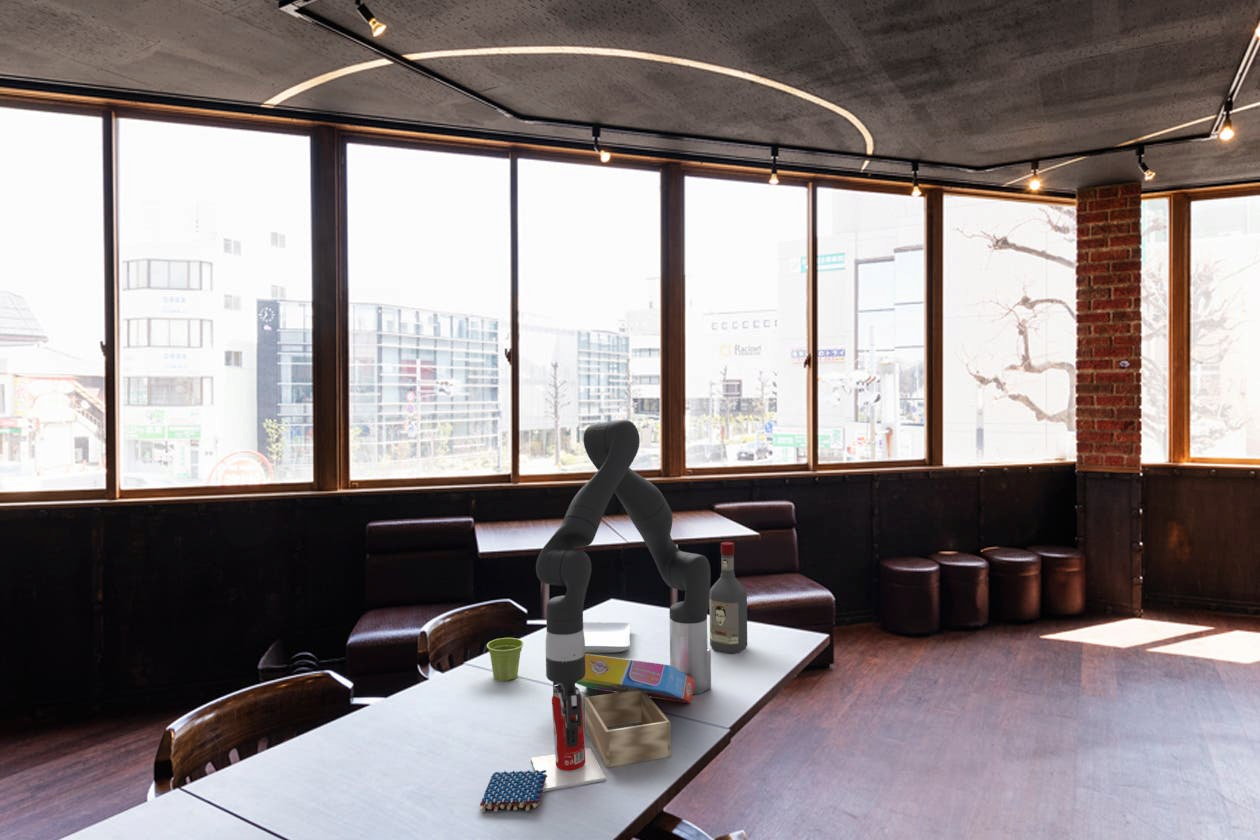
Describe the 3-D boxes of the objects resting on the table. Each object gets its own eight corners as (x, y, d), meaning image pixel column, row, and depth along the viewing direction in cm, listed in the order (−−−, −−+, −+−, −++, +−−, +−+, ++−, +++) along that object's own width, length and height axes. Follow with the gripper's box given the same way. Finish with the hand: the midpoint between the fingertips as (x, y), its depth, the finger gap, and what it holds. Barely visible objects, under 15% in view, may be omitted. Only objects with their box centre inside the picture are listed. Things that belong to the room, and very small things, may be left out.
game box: (551, 674, 161) (666, 691, 151) (556, 649, 163) (669, 664, 153) (587, 687, 178) (692, 703, 168) (591, 665, 180) (695, 679, 170)
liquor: (722, 640, 210) (720, 539, 210) (750, 646, 205) (749, 542, 204) (706, 649, 203) (705, 544, 202) (735, 656, 198) (734, 548, 197)
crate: (643, 720, 159) (642, 688, 159) (670, 756, 143) (670, 721, 143) (585, 729, 155) (584, 697, 155) (606, 767, 139) (606, 732, 139)
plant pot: (528, 670, 190) (527, 638, 189) (519, 684, 180) (518, 650, 180) (493, 669, 190) (492, 637, 190) (482, 683, 181) (482, 649, 181)
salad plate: (630, 657, 199) (630, 645, 199) (553, 657, 199) (553, 645, 199) (631, 632, 220) (631, 621, 220) (562, 633, 221) (561, 622, 221)
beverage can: (589, 760, 141) (588, 684, 140) (576, 777, 134) (575, 698, 134) (562, 756, 143) (560, 681, 142) (548, 772, 136) (546, 694, 136)
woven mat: (491, 780, 135) (491, 769, 134) (548, 778, 134) (547, 767, 134) (478, 813, 124) (477, 801, 124) (539, 811, 124) (538, 799, 124)
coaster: (589, 750, 146) (589, 748, 146) (605, 780, 134) (605, 777, 134) (531, 760, 142) (531, 757, 142) (542, 791, 131) (542, 789, 131)
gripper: (593, 662, 132) (595, 749, 132) (576, 638, 145) (577, 717, 146) (553, 668, 130) (555, 756, 130) (539, 642, 143) (541, 722, 144)
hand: (567, 735), depth 138 cm, fingers open, 8 cm apart
